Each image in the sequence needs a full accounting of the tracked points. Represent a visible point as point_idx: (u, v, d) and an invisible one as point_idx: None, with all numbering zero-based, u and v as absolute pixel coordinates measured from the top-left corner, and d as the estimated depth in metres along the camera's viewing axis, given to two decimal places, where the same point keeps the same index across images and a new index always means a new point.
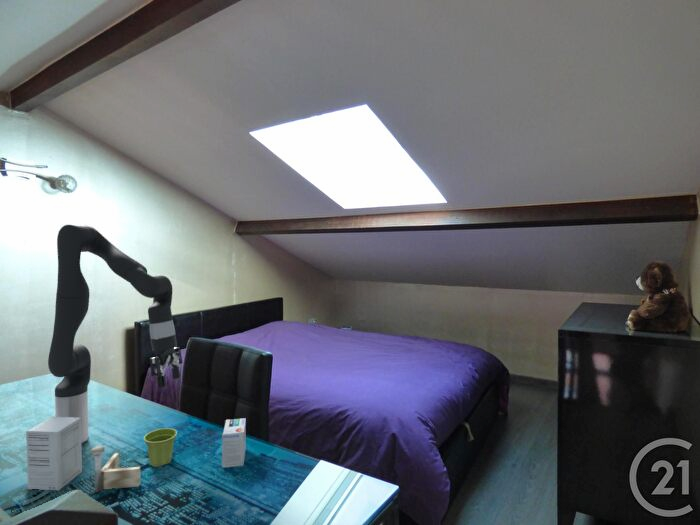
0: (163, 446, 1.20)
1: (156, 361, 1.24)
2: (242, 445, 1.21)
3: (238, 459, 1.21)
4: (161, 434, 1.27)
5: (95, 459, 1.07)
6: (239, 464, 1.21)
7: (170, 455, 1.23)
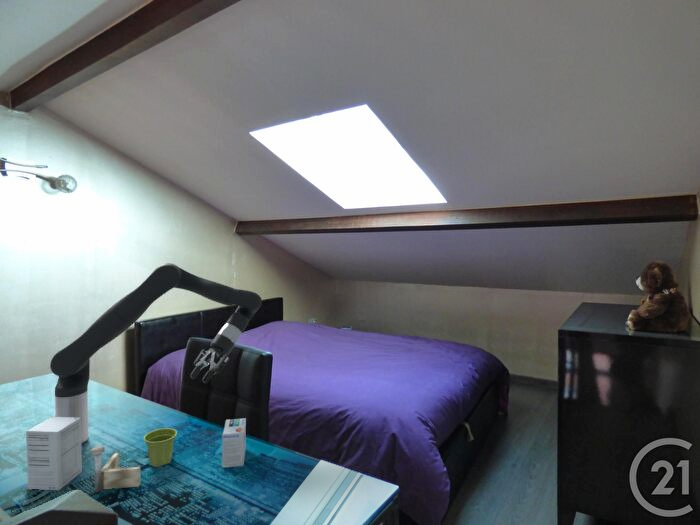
0: (163, 446, 1.20)
1: (227, 362, 1.35)
2: (242, 445, 1.21)
3: (238, 459, 1.21)
4: (161, 434, 1.27)
5: (95, 459, 1.07)
6: (239, 464, 1.21)
7: (170, 455, 1.23)
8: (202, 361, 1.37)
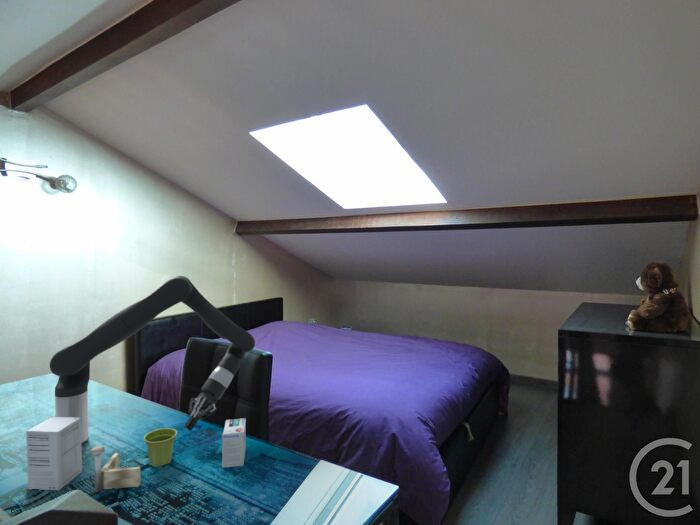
0: (163, 446, 1.20)
1: (213, 412, 1.32)
2: (242, 445, 1.21)
3: (238, 459, 1.21)
4: (161, 434, 1.27)
5: (95, 459, 1.07)
6: (239, 464, 1.21)
7: (170, 455, 1.23)
8: (196, 408, 1.34)
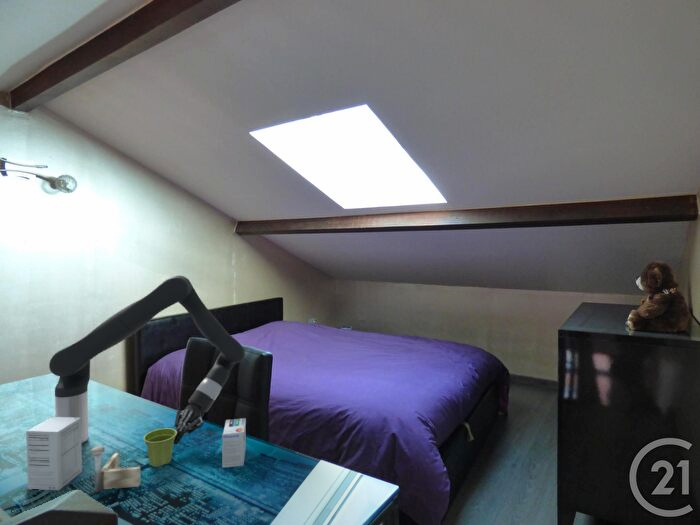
0: (163, 446, 1.20)
1: (200, 426, 1.28)
2: (242, 445, 1.21)
3: (238, 459, 1.21)
4: (160, 434, 1.27)
5: (95, 459, 1.07)
6: (239, 464, 1.21)
7: (170, 455, 1.23)
8: (182, 421, 1.30)
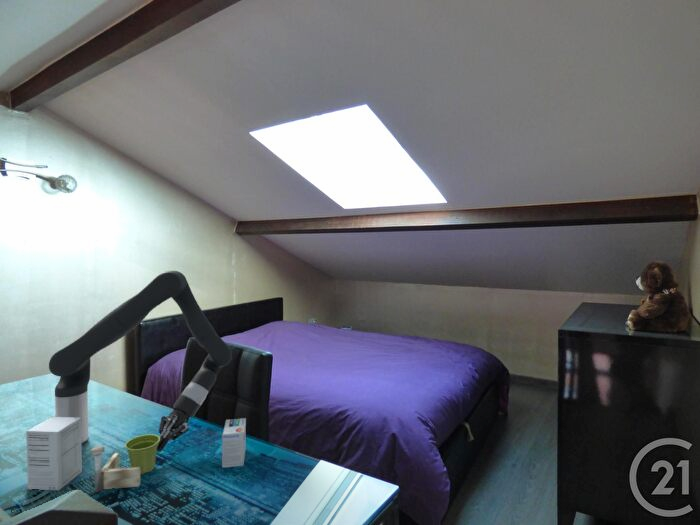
0: (144, 454, 1.15)
1: (185, 432, 1.24)
2: (242, 445, 1.21)
3: (238, 459, 1.21)
4: (145, 440, 1.22)
5: (95, 459, 1.07)
6: (239, 464, 1.21)
7: (152, 463, 1.18)
8: (167, 428, 1.25)
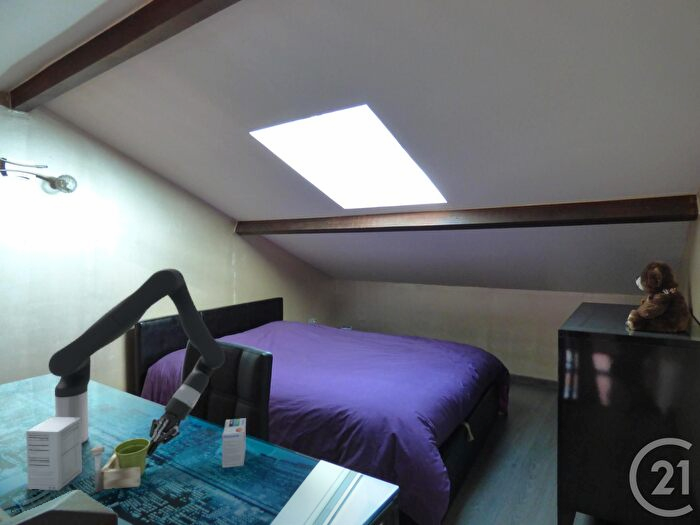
0: (133, 459, 1.13)
1: None
2: (242, 445, 1.21)
3: (238, 459, 1.21)
4: (134, 444, 1.20)
5: (95, 459, 1.07)
6: (239, 464, 1.21)
7: (142, 467, 1.16)
8: None
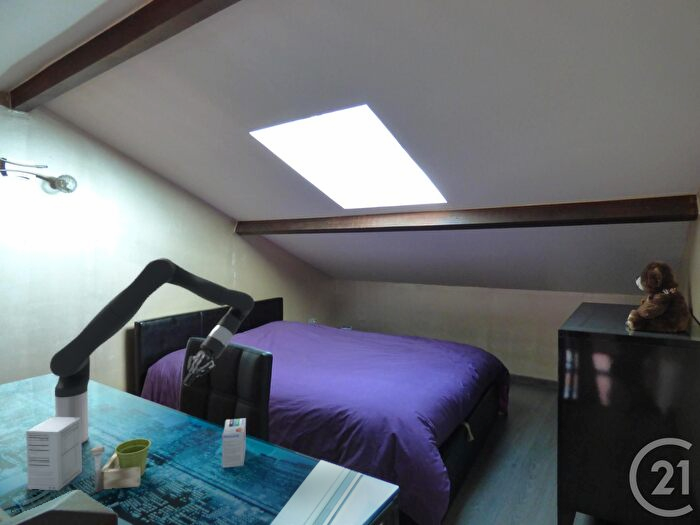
0: (134, 459, 1.13)
1: None
2: (242, 445, 1.21)
3: (238, 459, 1.21)
4: (135, 444, 1.20)
5: (95, 459, 1.07)
6: (239, 464, 1.21)
7: (142, 468, 1.16)
8: (195, 365, 1.33)
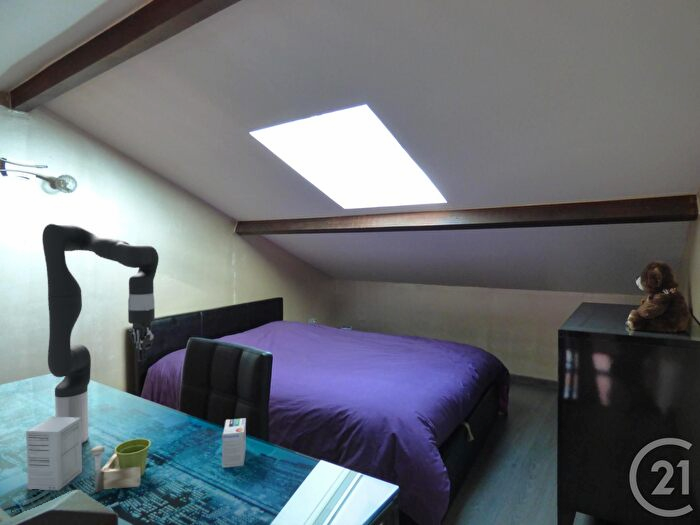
0: (134, 459, 1.13)
1: (154, 338, 1.24)
2: (242, 445, 1.21)
3: (238, 459, 1.21)
4: (135, 444, 1.20)
5: (95, 459, 1.07)
6: (239, 464, 1.21)
7: (142, 468, 1.16)
8: None
